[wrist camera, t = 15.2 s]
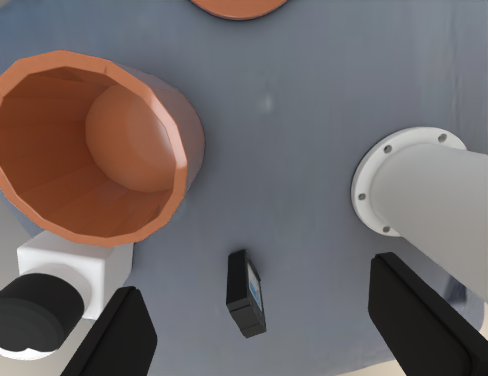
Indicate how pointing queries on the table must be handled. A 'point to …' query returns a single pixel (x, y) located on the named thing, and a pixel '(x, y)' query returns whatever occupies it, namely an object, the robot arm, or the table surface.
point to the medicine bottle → (57, 292)
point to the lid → (238, 8)
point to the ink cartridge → (245, 295)
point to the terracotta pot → (95, 147)
